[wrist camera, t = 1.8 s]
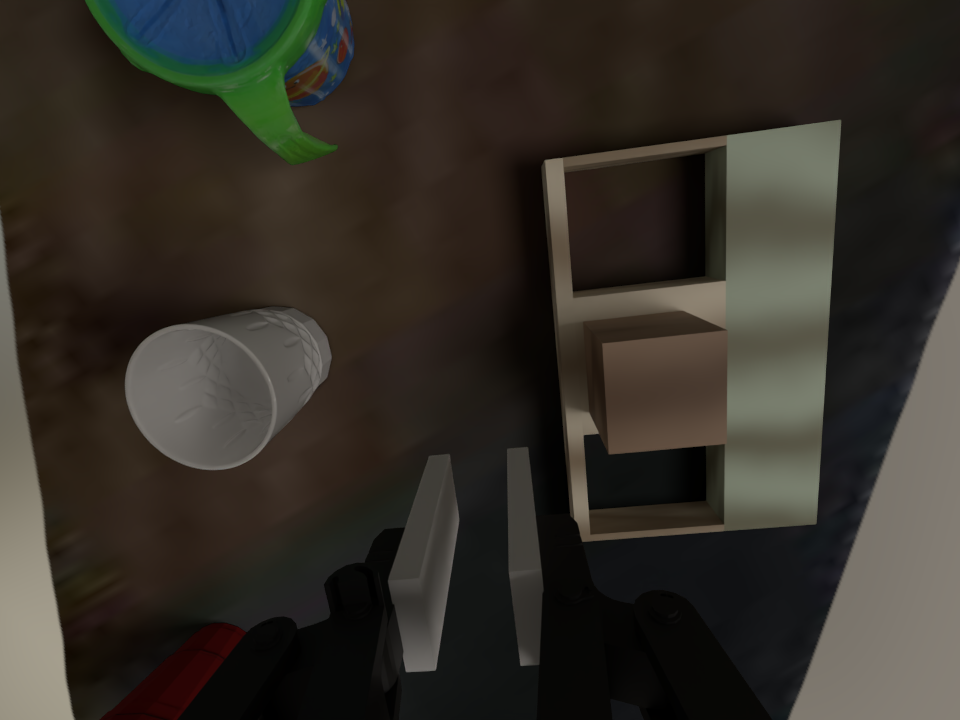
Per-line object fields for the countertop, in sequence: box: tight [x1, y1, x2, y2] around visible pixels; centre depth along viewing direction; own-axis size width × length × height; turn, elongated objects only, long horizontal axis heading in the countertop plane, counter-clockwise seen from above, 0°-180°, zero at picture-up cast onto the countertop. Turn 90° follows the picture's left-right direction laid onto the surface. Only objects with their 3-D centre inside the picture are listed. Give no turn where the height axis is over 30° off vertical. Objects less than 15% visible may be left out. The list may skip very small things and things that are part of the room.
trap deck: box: [541, 120, 841, 542], centre depth 31 cm, size 25×16×3 cm, turn 7°
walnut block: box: [583, 311, 728, 454], centre depth 27 cm, size 6×6×6 cm
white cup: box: [125, 306, 332, 470], centre depth 29 cm, size 8×8×10 cm
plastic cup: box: [100, 623, 246, 720], centre depth 35 cm, size 11×11×12 cm
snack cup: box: [85, 0, 354, 165], centre depth 24 cm, size 16×10×10 cm
